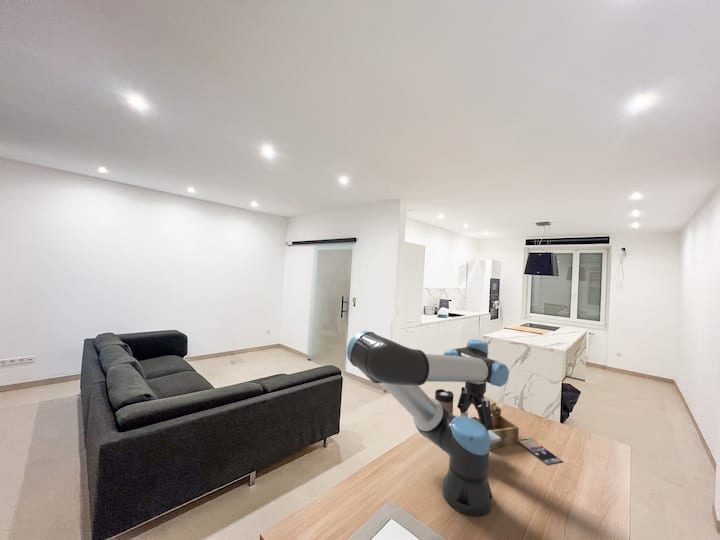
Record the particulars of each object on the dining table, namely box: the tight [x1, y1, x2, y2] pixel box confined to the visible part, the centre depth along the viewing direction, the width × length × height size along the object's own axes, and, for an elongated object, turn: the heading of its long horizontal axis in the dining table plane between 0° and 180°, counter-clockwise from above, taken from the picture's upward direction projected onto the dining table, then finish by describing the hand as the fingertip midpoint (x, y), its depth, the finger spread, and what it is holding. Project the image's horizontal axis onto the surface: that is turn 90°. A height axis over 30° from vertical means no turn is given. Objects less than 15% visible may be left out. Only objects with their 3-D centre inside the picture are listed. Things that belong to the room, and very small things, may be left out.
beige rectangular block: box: [484, 395, 497, 411], centre depth 143 cm, size 3×11×3 cm, turn 17°
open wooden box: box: [476, 405, 520, 450], centre depth 132 cm, size 17×15×10 cm
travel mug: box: [434, 388, 454, 415], centre depth 128 cm, size 8×8×20 cm
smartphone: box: [517, 437, 564, 466], centre depth 122 cm, size 8×15×1 cm, turn 17°
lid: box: [471, 416, 501, 444], centre depth 117 cm, size 16×11×8 cm
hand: (472, 436), depth 117 cm, fingers closed on lid, 11 cm apart
